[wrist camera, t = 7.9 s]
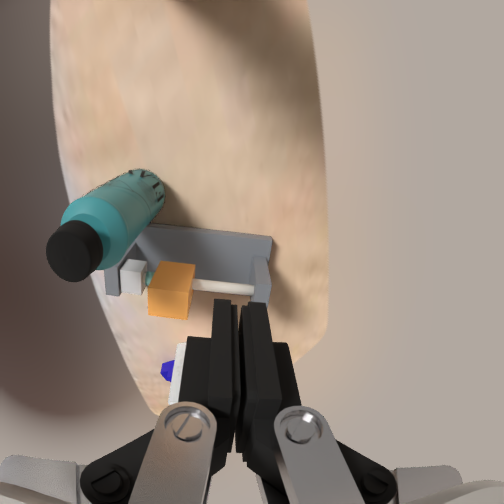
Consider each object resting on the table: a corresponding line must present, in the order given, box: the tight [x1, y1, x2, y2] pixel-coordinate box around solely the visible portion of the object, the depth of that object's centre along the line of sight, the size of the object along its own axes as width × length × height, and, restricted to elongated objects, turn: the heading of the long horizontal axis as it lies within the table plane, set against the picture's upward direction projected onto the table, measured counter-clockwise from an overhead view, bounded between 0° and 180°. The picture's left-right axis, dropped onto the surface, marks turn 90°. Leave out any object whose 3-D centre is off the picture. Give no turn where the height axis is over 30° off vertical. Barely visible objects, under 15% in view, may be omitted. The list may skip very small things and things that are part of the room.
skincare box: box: [168, 342, 187, 405], centre depth 41 cm, size 6×4×12 cm
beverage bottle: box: [46, 168, 166, 282], centre depth 27 cm, size 6×7×20 cm
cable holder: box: [161, 360, 175, 382], centre depth 47 cm, size 8×4×4 cm, turn 23°
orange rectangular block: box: [148, 261, 195, 320], centre depth 32 cm, size 3×4×6 cm
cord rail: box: [104, 223, 272, 307], centre depth 36 cm, size 8×19×9 cm, turn 82°
